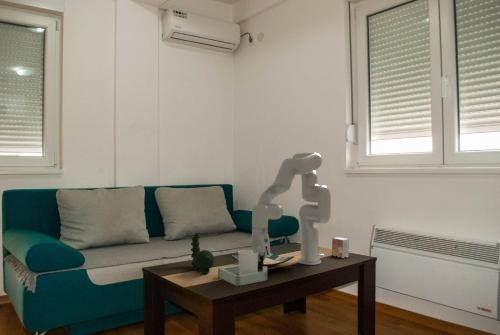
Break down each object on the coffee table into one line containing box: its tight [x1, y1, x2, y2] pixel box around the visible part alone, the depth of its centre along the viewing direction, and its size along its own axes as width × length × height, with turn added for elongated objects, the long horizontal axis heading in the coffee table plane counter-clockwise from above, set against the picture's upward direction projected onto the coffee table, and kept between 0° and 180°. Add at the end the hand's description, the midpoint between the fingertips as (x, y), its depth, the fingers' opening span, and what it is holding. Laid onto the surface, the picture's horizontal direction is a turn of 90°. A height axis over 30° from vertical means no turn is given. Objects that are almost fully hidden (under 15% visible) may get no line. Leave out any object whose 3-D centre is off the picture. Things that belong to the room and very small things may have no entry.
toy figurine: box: [190, 232, 215, 275], centre depth 194 cm, size 9×19×25 cm
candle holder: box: [237, 248, 259, 276], centre depth 183 cm, size 10×10×12 cm
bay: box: [217, 264, 268, 287], centre depth 180 cm, size 16×17×6 cm
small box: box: [331, 236, 350, 259], centre depth 226 cm, size 8×6×10 cm
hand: (259, 268), depth 186 cm, fingers closed
